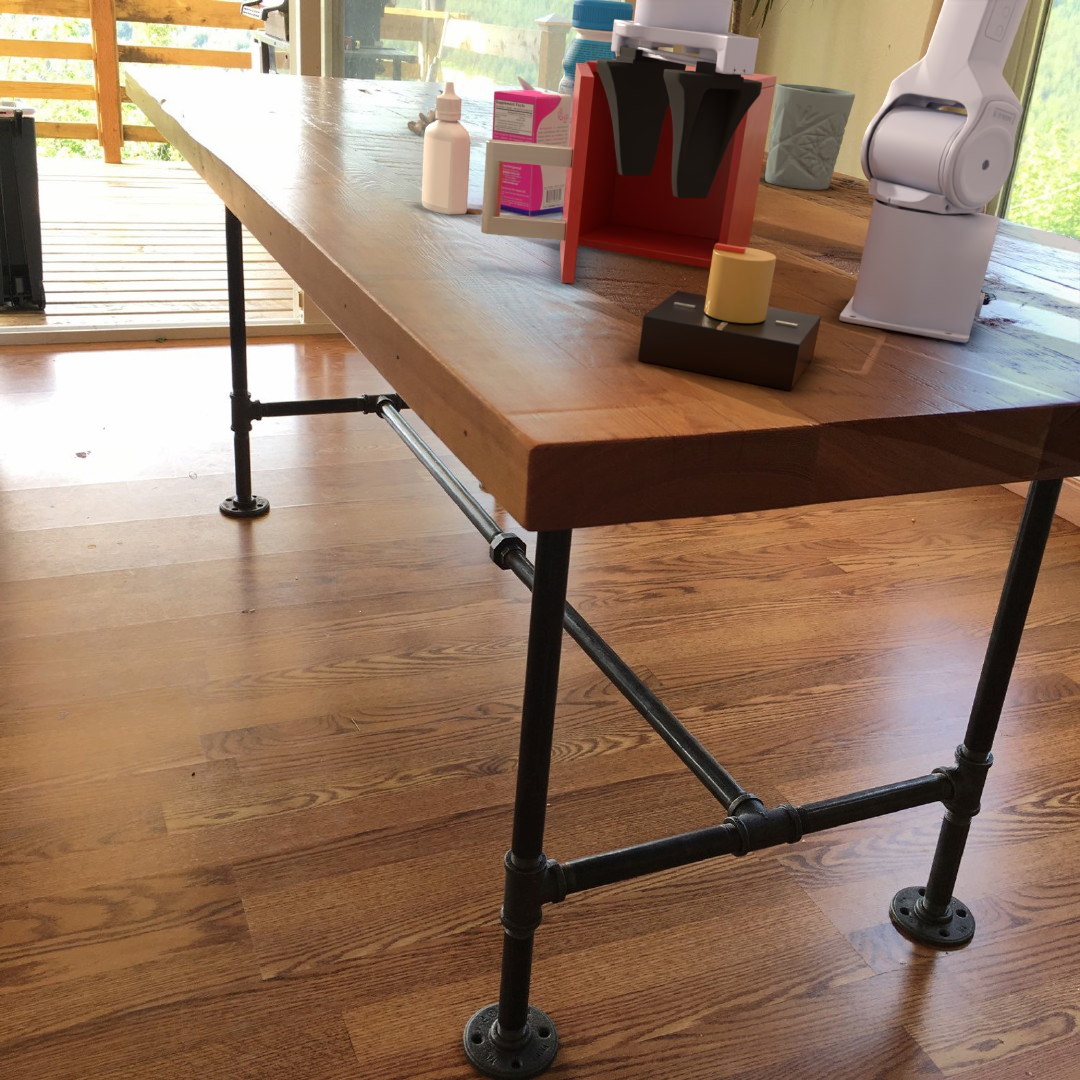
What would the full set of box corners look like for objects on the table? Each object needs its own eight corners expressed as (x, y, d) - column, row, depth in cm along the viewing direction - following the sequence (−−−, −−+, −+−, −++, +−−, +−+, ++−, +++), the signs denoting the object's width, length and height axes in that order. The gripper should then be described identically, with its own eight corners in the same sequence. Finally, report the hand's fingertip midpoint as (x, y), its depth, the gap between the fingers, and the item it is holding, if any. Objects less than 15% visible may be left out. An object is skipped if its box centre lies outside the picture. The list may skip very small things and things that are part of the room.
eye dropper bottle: (422, 214, 110) (427, 83, 104) (421, 203, 115) (425, 77, 109) (467, 217, 110) (474, 86, 105) (463, 206, 115) (470, 81, 110)
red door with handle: (477, 275, 89) (489, 67, 82) (486, 237, 102) (497, 55, 95) (574, 284, 89) (594, 76, 82) (570, 245, 102) (588, 63, 95)
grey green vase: (761, 174, 155) (777, 81, 150) (835, 183, 154) (853, 89, 148) (759, 184, 146) (775, 86, 141) (838, 194, 145) (857, 95, 140)
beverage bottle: (559, 189, 130) (576, -2, 121) (544, 176, 137) (559, -4, 128) (629, 192, 132) (650, 5, 123) (610, 180, 139) (629, 2, 130)
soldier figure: (393, 139, 163) (412, 104, 172) (417, 163, 165) (435, 128, 174) (428, 105, 159) (446, 71, 167) (453, 130, 161) (469, 96, 169)
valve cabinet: (722, 271, 98) (752, 80, 91) (568, 245, 103) (585, 61, 96) (747, 252, 107) (777, 76, 100) (603, 228, 111) (622, 58, 104)
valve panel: (812, 359, 76) (822, 313, 75) (790, 392, 69) (799, 342, 68) (672, 332, 79) (678, 287, 78) (637, 361, 72) (643, 313, 71)
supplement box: (521, 202, 120) (530, 88, 115) (565, 212, 117) (575, 95, 112) (485, 207, 116) (493, 88, 111) (529, 217, 113) (539, 96, 108)
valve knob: (771, 313, 74) (782, 248, 72) (758, 327, 71) (770, 259, 69) (712, 303, 75) (722, 238, 73) (697, 316, 72) (707, 248, 70)
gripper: (578, -62, 70) (558, 164, 76) (692, -60, 58) (658, 207, 64) (677, -51, 73) (650, 167, 79) (805, -48, 61) (762, 208, 67)
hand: (660, 185), depth 72 cm, fingers open, 7 cm apart
